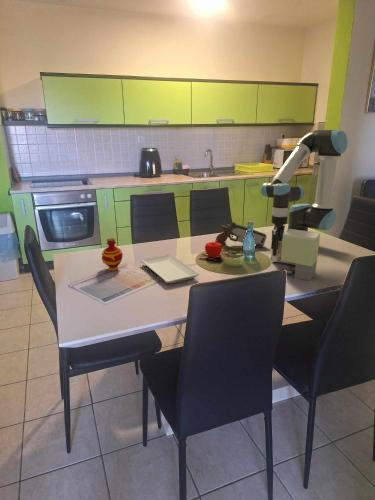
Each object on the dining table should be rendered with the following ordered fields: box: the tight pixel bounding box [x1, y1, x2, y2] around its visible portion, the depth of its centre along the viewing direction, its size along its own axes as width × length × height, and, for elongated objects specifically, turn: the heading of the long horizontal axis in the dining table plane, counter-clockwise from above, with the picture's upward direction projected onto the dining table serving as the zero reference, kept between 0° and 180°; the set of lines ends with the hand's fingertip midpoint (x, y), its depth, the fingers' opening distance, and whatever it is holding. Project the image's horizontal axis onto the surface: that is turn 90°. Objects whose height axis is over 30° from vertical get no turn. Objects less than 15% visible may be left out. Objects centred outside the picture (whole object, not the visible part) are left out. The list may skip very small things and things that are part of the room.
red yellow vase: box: [101, 237, 124, 272], centre depth 167 cm, size 10×10×15 cm
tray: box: [140, 254, 200, 285], centre depth 164 cm, size 17×32×4 cm, turn 28°
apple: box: [204, 241, 223, 259], centre depth 183 cm, size 9×9×8 cm
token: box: [283, 266, 295, 276], centre depth 162 cm, size 6×6×2 cm
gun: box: [214, 221, 268, 249], centre depth 201 cm, size 5×27×15 cm, turn 79°
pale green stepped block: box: [281, 229, 321, 282], centre depth 158 cm, size 10×15×20 cm
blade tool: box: [270, 241, 296, 266], centre depth 172 cm, size 4×15×10 cm, turn 57°
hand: (276, 259), depth 177 cm, fingers closed on blade tool, 4 cm apart
